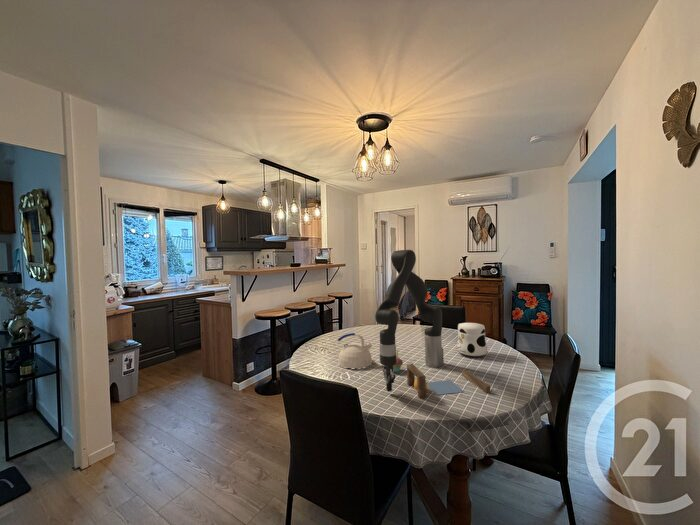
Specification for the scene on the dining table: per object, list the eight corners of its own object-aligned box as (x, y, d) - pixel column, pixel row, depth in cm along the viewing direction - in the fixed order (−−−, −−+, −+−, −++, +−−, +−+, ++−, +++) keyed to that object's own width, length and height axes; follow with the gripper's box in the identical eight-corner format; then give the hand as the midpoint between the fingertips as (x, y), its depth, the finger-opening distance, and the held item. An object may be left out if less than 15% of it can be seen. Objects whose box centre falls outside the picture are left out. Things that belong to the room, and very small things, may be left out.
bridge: (413, 383, 145) (412, 363, 144) (426, 397, 130) (425, 375, 130) (407, 384, 144) (406, 364, 144) (419, 398, 129) (418, 376, 129)
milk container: (451, 352, 188) (450, 324, 188) (472, 348, 194) (471, 321, 194) (471, 360, 172) (470, 330, 172) (493, 356, 178) (493, 326, 178)
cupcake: (401, 367, 166) (400, 346, 165) (404, 373, 157) (403, 351, 157) (386, 368, 165) (385, 346, 165) (388, 374, 157) (387, 351, 157)
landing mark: (450, 380, 147) (450, 379, 147) (464, 391, 134) (464, 391, 134) (425, 383, 145) (425, 382, 145) (437, 395, 132) (437, 394, 132)
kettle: (370, 370, 163) (369, 338, 163) (334, 369, 167) (332, 337, 167) (374, 358, 183) (373, 329, 182) (342, 356, 187) (341, 328, 187)
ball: (427, 383, 139) (418, 373, 139) (431, 387, 133) (423, 377, 133) (418, 392, 138) (409, 382, 138) (422, 397, 132) (413, 387, 132)
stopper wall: (465, 375, 152) (465, 369, 152) (490, 392, 132) (490, 386, 132) (462, 375, 152) (462, 369, 152) (486, 393, 132) (486, 386, 132)
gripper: (400, 356, 129) (401, 396, 129) (391, 347, 142) (392, 383, 142) (384, 358, 127) (385, 398, 128) (376, 349, 140) (377, 385, 141)
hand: (389, 390), depth 135 cm, fingers closed
